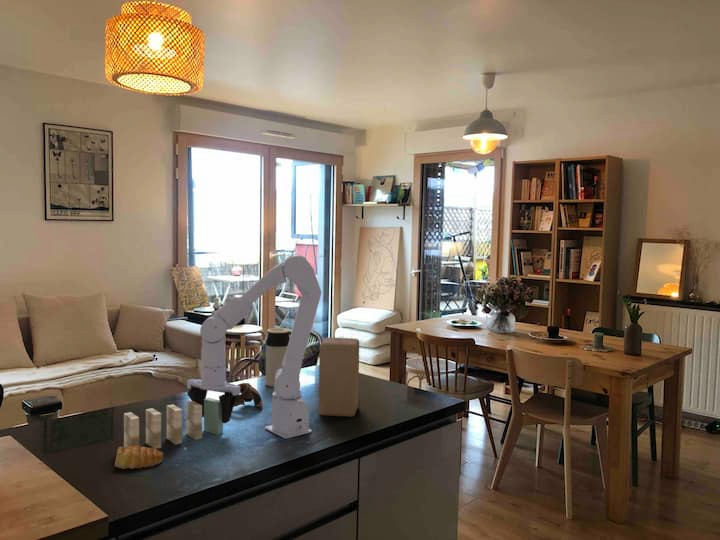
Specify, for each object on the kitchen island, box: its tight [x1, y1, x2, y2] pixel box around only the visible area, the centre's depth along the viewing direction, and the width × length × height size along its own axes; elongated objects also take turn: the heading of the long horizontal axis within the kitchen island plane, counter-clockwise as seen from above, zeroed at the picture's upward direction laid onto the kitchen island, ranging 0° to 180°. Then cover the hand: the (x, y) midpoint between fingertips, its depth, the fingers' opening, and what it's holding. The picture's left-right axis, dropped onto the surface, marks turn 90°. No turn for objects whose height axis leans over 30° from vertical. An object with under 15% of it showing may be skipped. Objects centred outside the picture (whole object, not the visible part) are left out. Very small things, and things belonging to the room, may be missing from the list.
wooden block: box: [318, 337, 360, 418], centre depth 163 cm, size 10×10×20 cm
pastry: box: [114, 444, 164, 470], centre depth 125 cm, size 9×7×4 cm
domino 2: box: [145, 408, 162, 450], centre depth 135 cm, size 5×2×8 cm, turn 41°
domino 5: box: [203, 397, 224, 436], centre depth 145 cm, size 5×2×8 cm, turn 57°
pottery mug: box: [234, 382, 264, 411], centre depth 165 cm, size 12×9×8 cm
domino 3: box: [166, 404, 183, 445], centre depth 138 cm, size 5×2×8 cm, turn 41°
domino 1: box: [123, 411, 140, 448], centre depth 132 cm, size 5×2×8 cm, turn 41°
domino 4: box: [186, 400, 203, 441], centre depth 142 cm, size 5×2×8 cm, turn 41°
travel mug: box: [265, 327, 291, 388], centre depth 190 cm, size 8×8×18 cm
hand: (213, 419), depth 145 cm, fingers open, 7 cm apart
